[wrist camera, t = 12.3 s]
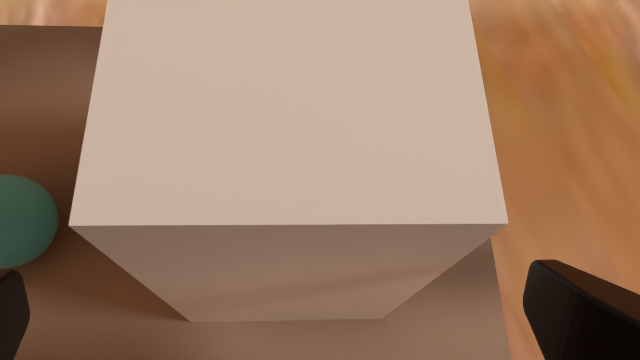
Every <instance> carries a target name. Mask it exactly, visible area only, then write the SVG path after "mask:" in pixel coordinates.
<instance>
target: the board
mask: <svg viewBox="0 0 640 360" xmlns="http://www.w3.org/2000/svg"><path fill="white" fill-rule="evenodd" d="M102 30H103V27H77V26H31V25H0V175H1V174H11V175H18V176H22V177H26V178H28V179H30V180H33V181H35V182H36V183H38V184H39V185H41V186H42V187H43V188H44V189H45V190H46V191H47V192H48V193H49V194H50V195H51V197H52V198H53V200H54V202H55V204H56V207H57V210H58V218H59V221H58V228H57V232H56V235H55V237H54V239H53V241H52V243H51V244H50V245H49V247H48V248H47V249H46V250H45V251H44V252H43V253H42V254H41V255H40V256H38V257H37V258H35V259H34V260H32V261H30V262H28V263H26V264H23V265H21V266H17V267H12V268H5V269H16V270H18V271H19V272H20V273H21V275H22V277H23V280H24V285H25V289H26V294H27V298H28V303H29V307H30V320H29V324H28V327H27V329H26V332H25V334H24V337H23V339H22V341H21V344H20V346H19V348H18V351H17V353H16V356H15V358H14V360H511V358H510V352H509V346H508V340H507V334H506V328H505V322H504V316H503V310H502V304H501V298H500V292H499V286H498V280H497V274H496V268H495V262H494V256H493V250H492V244H491V239H490V238H489V239H487V240H486V241H485V242H483V243H482V244H481V245H479V246H478V247H477V248H475V249H474V250H473V251H471V252H470V253H469V254H467V255H466V256H465V257H463V258H462V259H461V260H459V261H458V262H457V263H455V264H454V265H453V266H451V267H450V268H449V269H447V270H446V271H445V272H443V273H442V274H441V275H439V276H438V277H437V278H435V279H434V280H433V281H431V282H430V283H429V284H427V285H426V286H425V287H423V288H422V289H421V290H419V291H418V292H417V293H415V294H414V295H413V296H411V297H410V298H409V299H407V300H406V301H405V302H403V303H402V304H401V305H399V306H398V307H397V308H395V309H394V310H393V311H391V312H390V313H389V314H387V315H386V316H385V317H383V318H382V319H341V320H288V321H234V322H190V321H189V320H188V319H186V318H185V317H184V316H183V315H181V314H180V313H179V312H178V311H176V310H175V309H174V308H172V307H171V306H170V305H169V304H167V303H166V302H165V301H164V300H162V299H161V298H160V297H158V296H157V295H156V294H155V293H153V292H152V291H151V290H150V289H148V288H147V287H146V286H144V285H143V284H142V283H141V282H139V281H138V280H137V279H136V278H134V277H133V276H132V275H130V274H129V273H128V272H127V271H125V270H124V269H123V268H122V267H120V266H119V265H118V264H117V263H115V262H114V261H113V260H111V259H110V258H109V257H108V256H106V255H105V254H104V253H103V252H101V251H100V250H99V249H97V248H96V247H95V246H94V245H92V244H91V243H90V242H89V241H87V240H86V239H85V238H83V237H82V236H81V235H80V234H78V233H77V232H76V231H75V230H73V229H72V228H71V227H69V226H68V225H69V219H70V214H71V208H72V202H73V197H74V191H75V185H76V179H77V174H78V168H79V162H80V156H81V151H82V145H83V139H84V133H85V128H86V122H87V116H88V110H89V105H90V99H91V93H92V88H93V82H94V76H95V70H96V65H97V59H98V53H99V47H100V42H101V36H102ZM0 269H2V268H0Z"/></svg>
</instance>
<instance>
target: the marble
mask: <svg viewBox="0 0 640 360" xmlns="http://www.w3.org/2000/svg"><path fill="white" fill-rule="evenodd" d="M58 221H59V218H58V210H57V207H56V204H55V202H54V200H53V198H52V197H51V195H50V194H49V193H48V192H47V191H46V190H45V189H44V188H43V187H42V186H41V185H39V184H38V183H36V182H35V181H33V180H30V179H28V178H26V177H22V176H18V175H11V174H1V175H0V268H2V269H5V268H12V267H17V266H21V265H23V264H26V263H28V262H30V261H32V260H34V259H35V258H37V257H38V256H40V255H41V254H42V253H43V252H44V251H45V250H46V249H47V248H48V247H49V245H50V244H51V243H52V241H53V239H54V237H55V235H56V232H57V228H58Z"/></svg>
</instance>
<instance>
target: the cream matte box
mask: <svg viewBox="0 0 640 360" xmlns="http://www.w3.org/2000/svg"><path fill="white" fill-rule="evenodd" d="M507 224H508V219H507V213H506V207H505V202H504V196H503V191H502V185H501V180H500V174H499V169H498V163H497V158H496V152H495V147H494V141H493V135H492V130H491V124H490V119H489V113H488V108H487V102H486V97H485V91H484V86H483V80H482V75H481V69H480V63H479V58H478V52H477V47H476V41H475V36H474V30H473V25H472V19H471V14H470V8H469V3H468V0H108V2H107V7H106V13H105V19H104V24H103V30H102V36H101V42H100V47H99V53H98V59H97V65H96V70H95V76H94V82H93V88H92V93H91V99H90V105H89V110H88V116H87V122H86V128H85V133H84V139H83V145H82V151H81V156H80V162H79V168H78V174H77V179H76V185H75V191H74V197H73V202H72V208H71V214H70V219H69V225H68V226H69V227H71V228H72V229H73V230H75V231H76V232H77V233H78V234H80V235H81V236H82V237H83V238H85V239H86V240H87V241H89V242H90V243H91V244H92V245H94V246H95V247H96V248H97V249H99V250H100V251H101V252H103V253H104V254H105V255H106V256H108V257H109V258H110V259H111V260H113V261H114V262H115V263H117V264H118V265H119V266H120V267H122V268H123V269H124V270H125V271H127V272H128V273H129V274H130V275H132V276H133V277H134V278H136V279H137V280H138V281H139V282H141V283H142V284H143V285H144V286H146V287H147V288H148V289H150V290H151V291H152V292H153V293H155V294H156V295H157V296H158V297H160V298H161V299H162V300H164V301H165V302H166V303H167V304H169V305H170V306H171V307H172V308H174V309H175V310H176V311H178V312H179V313H180V314H181V315H183V316H184V317H185V318H186V319H188V320H189V321H190V322H234V321H288V320H341V319H382V318H383V317H385V316H386V315H387V314H389V313H390V312H391V311H393V310H394V309H395V308H397V307H398V306H399V305H401V304H402V303H403V302H405V301H406V300H407V299H409V298H410V297H411V296H413V295H414V294H415V293H417V292H418V291H419V290H421V289H422V288H423V287H425V286H426V285H427V284H429V283H430V282H431V281H433V280H434V279H435V278H437V277H438V276H439V275H441V274H442V273H443V272H445V271H446V270H447V269H449V268H450V267H451V266H453V265H454V264H455V263H457V262H458V261H459V260H461V259H462V258H463V257H465V256H466V255H467V254H469V253H470V252H471V251H473V250H474V249H475V248H477V247H478V246H479V245H481V244H482V243H483V242H485V241H486V240H487V239H489V238H490V237H491V236H493V235H494V234H495V233H497V232H498V231H499V230H501V229H502V228H503V227H505V226H506V225H507Z"/></svg>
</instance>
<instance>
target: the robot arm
mask: <svg viewBox="0 0 640 360" xmlns="http://www.w3.org/2000/svg"><path fill="white" fill-rule="evenodd" d="M523 308H524V311H525V314H526V316H527V319H528V321H529V323H530V326H531V328H532V330H533V333H534V335H535V337H536V340H537V342H538V344H539V347H540V349H541V351H542V354H543V356H544V358H545V360H640V295H639V294H637V293H634V292H632V291H630V290H627V289H625V288H622V287H620V286H618V285H615V284H613V283H610V282H608V281H606V280H603V279H601V278H598V277H596V276H594V275H591V274H589V273H586V272H584V271H582V270H579V269H577V268H574V267H572V266H570V265H567V264H565V263H563V262H560V261H558V260H535V261H534V262H532V263H531V265H530V267H529V271H528V276H527V281H526V286H525V290H524V295H523ZM29 320H30V307H29V303H28V298H27V294H26V289H25V285H24V280H23V277H22V275H21V273H20V272H19V271H18V270H16V269H0V360H14V358H15V356H16V353H17V351H18V348H19V346H20V344H21V341H22V339H23V337H24V334H25V332H26V329H27V327H28V324H29Z"/></svg>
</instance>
